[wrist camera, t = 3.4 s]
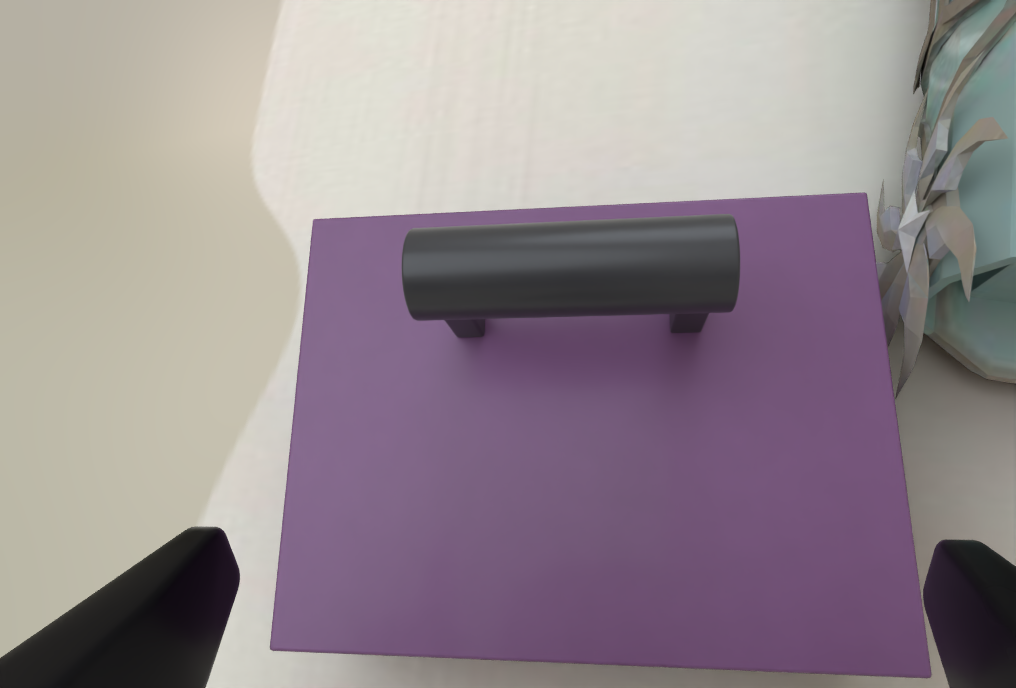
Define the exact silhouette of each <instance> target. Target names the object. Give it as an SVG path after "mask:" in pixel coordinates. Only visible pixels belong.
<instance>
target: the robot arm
mask: <svg viewBox="0 0 1016 688" xmlns="http://www.w3.org/2000/svg"><path fill="white" fill-rule="evenodd" d="M239 582H240V573H239V568H238V565H237V562H236V560H235V557H234V554H233V552H232V549H231V547H230V544H229V541H228V539H227V536H226V534H225V532H224V531H223V530H222V529H221V528H218V527H191V528H189V529H187V530H185V531H184V532H182V533H181V534H179V535H178V536H176V537H175V538H173V539H172V540H170V541H169V542H168V543H166V544H165V545H163V546H162V547H160V548H159V549H157V550H156V551H155V552H153V553H152V554H150V555H149V556H147V557H146V558H144V559H143V560H142V561H140V562H139V563H137V564H136V565H134V566H133V567H131V568H130V569H129V570H127V571H126V572H124V573H123V574H121V575H120V576H118V577H117V578H116V579H114V580H113V581H111V582H110V583H108V584H107V585H105V586H104V587H102V588H101V589H100V590H98V591H97V592H95V593H94V594H92V595H91V596H89V597H88V598H87V599H85V600H84V601H82V602H81V603H79V604H78V605H77V606H75V607H74V608H72V609H71V610H69V611H68V612H66V613H65V614H63V615H62V616H60V617H59V618H58V619H56V620H55V621H53V622H52V623H50V624H49V625H48V626H46V627H45V628H43V629H42V630H40V631H39V632H37V633H36V634H34V635H33V636H32V637H30V638H29V639H27V640H26V641H24V642H23V643H21V644H20V645H19V646H17V647H16V648H14V649H13V650H11V651H10V652H8V653H7V654H5V655H4V656H3V657H1V658H0V688H205V687H206V684H207V682H208V679H209V676H210V673H211V670H212V667H213V664H214V661H215V658H216V655H217V652H218V649H219V645H220V642H221V639H222V636H223V633H224V630H225V627H226V624H227V621H228V618H229V615H230V612H231V609H232V606H233V603H234V600H235V597H236V594H237V591H238V587H239ZM923 600H924V606H925V610H926V613H927V616H928V620H929V623H930V626H931V629H932V632H933V636H934V639H935V642H936V645H937V649H938V652H939V655H940V658H941V661H942V665H943V668H944V671H945V674H946V678H947V681H948V684H949V687H950V688H1016V566H1014V565H1013V564H1011V563H1010V562H1009V561H1007V560H1006V559H1005V558H1003V557H1002V556H1000V555H999V554H998V553H996V552H995V551H993V550H992V549H991V548H989V547H988V546H986V545H985V544H983V543H981V542H979V541H975V540H942V541H940V542H939V543H938V544H937V546H936V548H935V550H934V554H933V557H932V560H931V564H930V567H929V571H928V574H927V578H926V581H925V584H924V589H923Z"/></svg>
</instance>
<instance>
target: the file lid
mask: <svg viewBox="0 0 1016 688" xmlns="http://www.w3.org/2000/svg"><path fill="white" fill-rule="evenodd" d="M270 649H271V650H272V651H290V652H314V653H338V654H361V655H385V656H409V657H432V658H456V659H480V660H503V661H527V662H551V663H574V664H598V665H622V666H646V667H669V668H693V669H717V670H740V671H764V672H788V673H811V674H835V675H859V676H882V677H906V678H930V677H931V667H930V659H929V652H928V644H927V637H926V630H925V622H924V615H923V607H922V600H921V592H920V585H919V578H918V570H917V563H916V555H915V548H914V541H913V533H912V526H911V518H910V511H909V503H908V496H907V489H906V481H905V474H904V466H903V459H902V451H901V444H900V437H899V429H898V422H897V414H896V407H895V399H894V392H893V385H892V377H891V370H890V362H889V355H888V347H887V340H886V333H885V325H884V318H883V310H882V303H881V295H880V288H879V281H878V273H877V266H876V258H875V251H874V243H873V236H872V229H871V221H870V214H869V206H868V199H867V194H866V193H846V194H826V195H805V196H784V197H764V198H743V199H722V200H702V201H681V202H660V203H640V204H619V205H598V206H578V207H557V208H536V209H516V210H495V211H475V212H454V213H433V214H413V215H392V216H371V217H351V218H330V219H314V220H313V226H312V236H311V246H310V256H309V266H308V275H307V285H306V295H305V305H304V315H303V325H302V335H301V345H300V355H299V364H298V374H297V384H296V394H295V404H294V414H293V424H292V434H291V443H290V453H289V463H288V473H287V483H286V493H285V503H284V513H283V523H282V532H281V542H280V552H279V562H278V572H277V582H276V592H275V602H274V612H273V621H272V631H271V641H270Z"/></svg>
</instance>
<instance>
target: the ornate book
mask: <svg viewBox="0 0 1016 688" xmlns="http://www.w3.org/2000/svg"><path fill="white" fill-rule="evenodd" d="M920 72H921V87H922V91H923V95H924V99H923V102H922V104H921V106H920V109H919V111H918V114H917V116H916V119H915V121H914V123H913V127H912V130H911V134H910V138H909V141H908V145H907V148H906V155H905V162H904V168H903V174H902V212H903V215H904V216H903V218H902V220H901V223H900V212H899V208H898V207H893V206H889V207H888V208H887V209H886V211H885V208H884V181H883V183H882V189H881V195H880V201H879V206H878V212H877V234H878V237H879V239H880V242H881V245H882V247H883V248H885V249H887V250H890V251H892V252H894V251H896V250H901V249H902V250H901V251H902V252H900V253H899V254H898V255H897V256H896V257H894V258H893V259H892V260H891V261H890V262H888V263H881V262H877V263H876V266H877V273H878V281H879V288H880V295H881V303H882V310H883V318H884V325H885V333H886V340H887V347H888V345H889V343H890V341H891V339H892V337H893V334H894V332H895V330H896V328H897V325H898V321H899V318H900V314H901V317H902V320H903V322H904V358H903V363H902V368H901V373H900V378H899V383H898V388H897V393H896V397H897V396H898V394H899V392H900V390H901V389H902V387H903V385H904V383H905V382H906V380H907V378H908V376H909V375H910V373H911V371H912V369H913V367H914V364H915V361H916V358H917V355H918V352H919V349H920V346H921V343H922V339H923V333H925V334H926V335H927V336H929V337H930V338H931V339H932V340H934V341H935V342H936V343H937V344H938V345H940V346H941V347H942V348H943V349H944V350H946V351H947V352H948V353H949V354H951V355H952V356H953V357H954V358H955V359H957V360H958V361H959V362H960V363H961V364H963V365H964V366H965V367H966V368H968V369H969V370H970V371H972V372H974V373H976V374H978V375H980V376H981V377H983V378H985V379H990V380H996V381H1002V382H1007V383H1013V384H1016V0H931V5H930V17H929V28H928V33H927V36H926V39H925V42H924V44H923V47H922V50H921V53H920V57H919V61H918V65H917V70H916V76H915V82H914V88H913V94H914V93H915V91H916V89H917V88H918V87H919V84H920ZM924 105H925V107H924ZM923 109H924V111H923ZM922 113H923V115H922ZM921 116H922V118H921ZM918 136H919V137H920V138H921V150H922V160H920V159H919V158H918V153H917V148H916V146H917V138H918ZM921 167H922V168H921ZM920 171H921V173H920ZM919 175H920V178H919ZM918 180H919V184H918ZM917 184H918V192H917V199H916V198H915V192H916V188H917ZM895 399H896V398H895Z"/></svg>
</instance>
